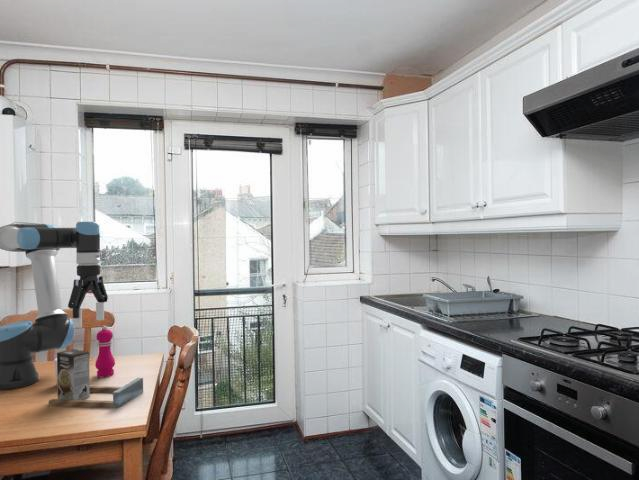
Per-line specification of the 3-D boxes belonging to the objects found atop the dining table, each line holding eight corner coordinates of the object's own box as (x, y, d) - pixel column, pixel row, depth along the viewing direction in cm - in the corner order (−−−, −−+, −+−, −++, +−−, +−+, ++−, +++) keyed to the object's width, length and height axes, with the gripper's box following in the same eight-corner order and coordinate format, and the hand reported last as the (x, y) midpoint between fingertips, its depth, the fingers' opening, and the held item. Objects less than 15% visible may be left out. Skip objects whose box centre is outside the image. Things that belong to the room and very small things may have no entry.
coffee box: (56, 398, 154) (55, 352, 154) (74, 393, 159) (73, 348, 159) (73, 403, 149) (72, 355, 149) (90, 396, 155) (89, 350, 155)
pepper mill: (109, 377, 177) (108, 327, 177) (92, 377, 177) (91, 327, 177) (118, 371, 184) (117, 324, 184) (101, 372, 185) (100, 324, 184)
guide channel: (48, 405, 147) (48, 390, 147) (79, 390, 162) (78, 376, 162) (119, 407, 144) (118, 392, 144) (143, 391, 159) (142, 377, 159)
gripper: (76, 266, 146) (77, 330, 146) (117, 262, 171) (117, 317, 171) (55, 266, 147) (56, 330, 147) (98, 262, 172) (99, 317, 172)
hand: (89, 323), depth 159 cm, fingers open, 13 cm apart
